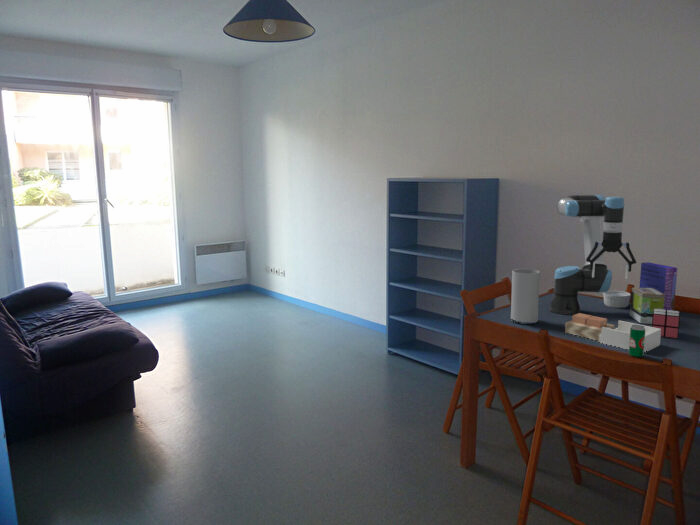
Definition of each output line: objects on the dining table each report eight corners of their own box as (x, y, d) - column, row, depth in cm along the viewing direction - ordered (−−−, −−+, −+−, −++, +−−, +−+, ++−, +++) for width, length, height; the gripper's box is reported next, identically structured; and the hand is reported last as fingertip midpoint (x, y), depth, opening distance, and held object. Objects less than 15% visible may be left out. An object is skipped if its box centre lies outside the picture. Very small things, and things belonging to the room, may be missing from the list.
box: (598, 342, 213) (599, 326, 212) (616, 335, 222) (617, 320, 221) (643, 353, 199) (644, 336, 198) (659, 345, 209) (661, 328, 207)
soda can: (626, 353, 200) (628, 324, 198) (639, 353, 200) (641, 324, 198) (632, 357, 195) (634, 327, 193) (645, 357, 195) (648, 328, 193)
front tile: (586, 325, 222) (586, 318, 221) (593, 322, 225) (593, 315, 225) (599, 328, 217) (600, 321, 216) (606, 325, 220) (607, 318, 220)
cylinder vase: (509, 317, 254) (511, 268, 250) (535, 318, 252) (537, 269, 247) (512, 324, 242) (513, 273, 238) (539, 325, 240) (541, 273, 235)
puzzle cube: (678, 339, 216) (680, 316, 214) (650, 335, 221) (652, 313, 219) (677, 332, 224) (679, 311, 222) (651, 329, 229) (653, 308, 228)
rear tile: (572, 321, 227) (572, 315, 226) (579, 319, 230) (579, 313, 230) (585, 324, 222) (585, 318, 222) (592, 322, 226) (592, 315, 225)
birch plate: (564, 333, 227) (565, 322, 226) (578, 327, 234) (579, 317, 233) (600, 341, 214) (600, 330, 214) (613, 335, 222) (614, 325, 221)
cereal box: (673, 314, 252) (677, 267, 248) (665, 315, 251) (669, 268, 247) (645, 306, 269) (648, 262, 265) (638, 307, 268) (641, 262, 264)
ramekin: (618, 309, 263) (618, 297, 262) (596, 304, 275) (597, 292, 274) (635, 306, 269) (636, 294, 267) (614, 301, 280) (614, 289, 279)
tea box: (663, 324, 236) (665, 294, 234) (639, 324, 238) (641, 293, 236) (650, 316, 251) (653, 287, 248) (628, 315, 253) (631, 286, 250)
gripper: (582, 231, 227) (579, 277, 231) (645, 233, 218) (642, 281, 221) (581, 230, 234) (579, 274, 238) (643, 231, 224) (639, 277, 228)
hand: (609, 277), depth 230 cm, fingers open, 13 cm apart
